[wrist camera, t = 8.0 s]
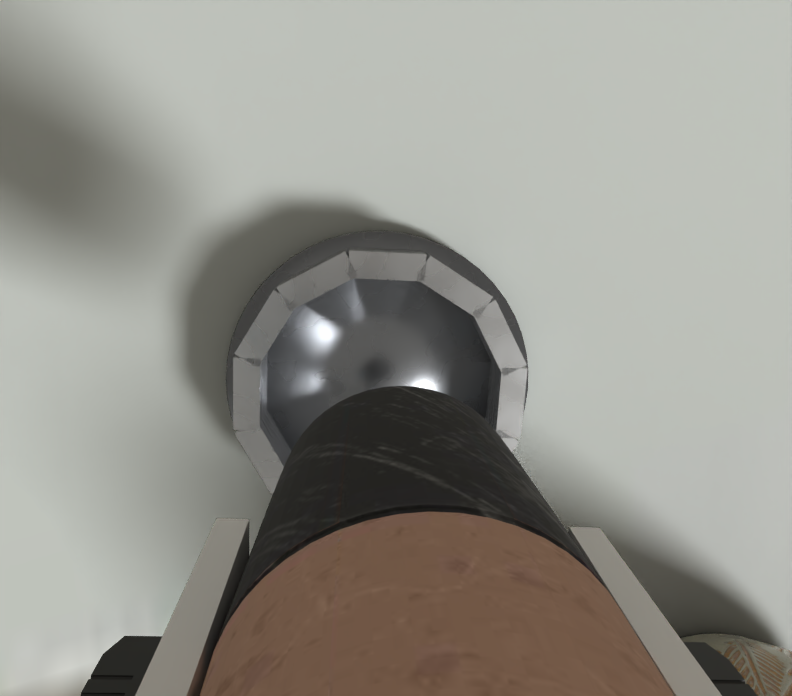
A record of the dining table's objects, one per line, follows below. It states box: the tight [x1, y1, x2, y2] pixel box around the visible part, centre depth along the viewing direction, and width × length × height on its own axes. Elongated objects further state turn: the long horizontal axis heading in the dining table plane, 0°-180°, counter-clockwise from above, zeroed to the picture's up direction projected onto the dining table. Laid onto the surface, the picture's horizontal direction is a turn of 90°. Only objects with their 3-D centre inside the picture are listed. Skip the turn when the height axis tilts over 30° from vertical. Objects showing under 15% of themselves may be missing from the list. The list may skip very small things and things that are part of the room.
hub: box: [226, 231, 528, 494], centre depth 32 cm, size 15×15×4 cm
